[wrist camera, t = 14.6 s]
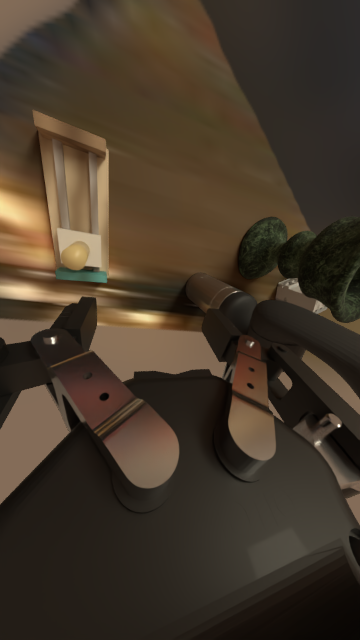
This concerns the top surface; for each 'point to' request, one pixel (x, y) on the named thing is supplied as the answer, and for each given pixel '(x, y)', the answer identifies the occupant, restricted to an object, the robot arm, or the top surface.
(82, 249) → the carriage
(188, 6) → the top surface
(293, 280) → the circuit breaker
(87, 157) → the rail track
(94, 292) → the top surface
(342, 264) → the goblet
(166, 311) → the top surface
